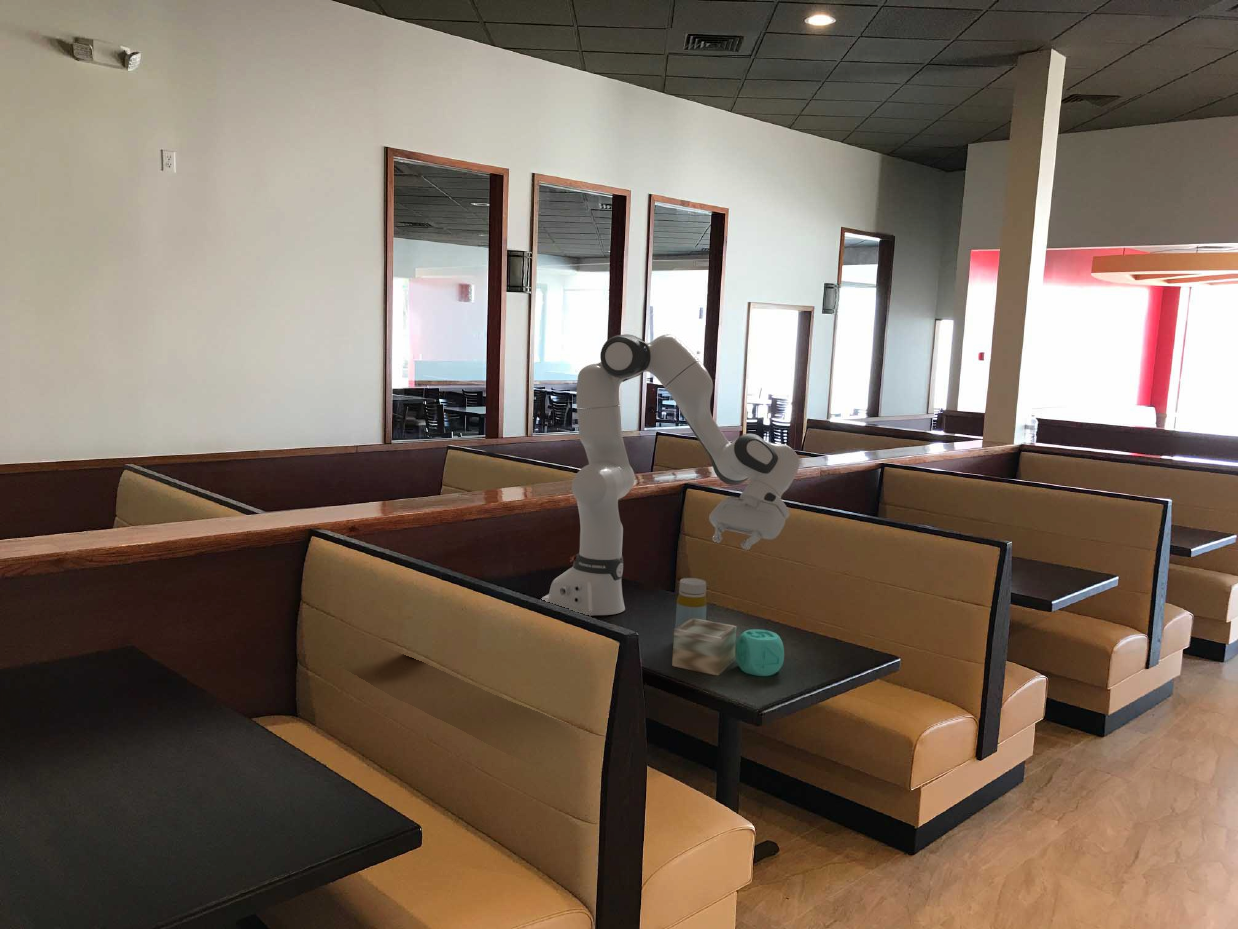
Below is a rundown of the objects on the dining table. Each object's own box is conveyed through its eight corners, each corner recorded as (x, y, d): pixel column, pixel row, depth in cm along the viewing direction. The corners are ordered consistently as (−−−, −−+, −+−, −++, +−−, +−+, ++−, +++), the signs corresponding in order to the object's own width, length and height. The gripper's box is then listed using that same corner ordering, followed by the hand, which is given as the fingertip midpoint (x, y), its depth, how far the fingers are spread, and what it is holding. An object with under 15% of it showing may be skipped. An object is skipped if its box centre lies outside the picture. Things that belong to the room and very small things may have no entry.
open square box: (672, 665, 202) (674, 629, 201) (690, 652, 212) (692, 617, 211) (717, 675, 198) (720, 638, 197) (734, 661, 207) (736, 626, 206)
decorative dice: (783, 675, 200) (785, 639, 199) (749, 677, 198) (751, 641, 197) (767, 662, 208) (769, 628, 207) (734, 664, 205) (736, 629, 204)
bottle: (704, 639, 222) (708, 578, 220) (703, 649, 215) (707, 586, 213) (674, 637, 222) (678, 576, 220) (673, 646, 215) (677, 583, 213)
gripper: (721, 487, 235) (692, 529, 230) (784, 498, 220) (755, 543, 214) (732, 503, 238) (704, 544, 233) (795, 515, 223) (767, 560, 218)
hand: (729, 544), depth 224 cm, fingers open, 8 cm apart
